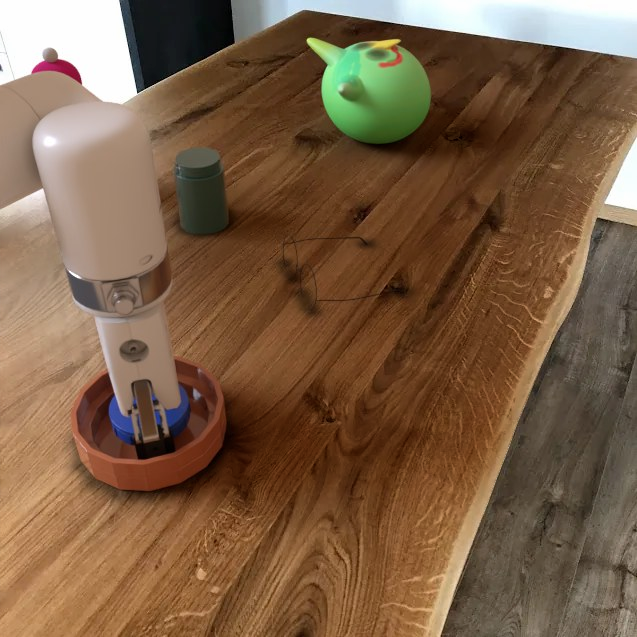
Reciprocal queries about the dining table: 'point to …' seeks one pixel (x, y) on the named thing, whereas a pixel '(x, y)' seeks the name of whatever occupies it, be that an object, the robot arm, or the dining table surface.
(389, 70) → the toy bird
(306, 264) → the eyeglasses
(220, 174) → the jar
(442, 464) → the dining table surface
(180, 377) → the bowl
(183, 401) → the lid
